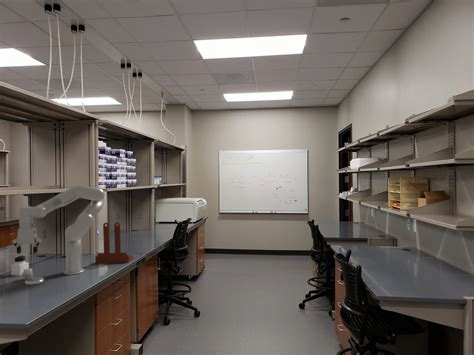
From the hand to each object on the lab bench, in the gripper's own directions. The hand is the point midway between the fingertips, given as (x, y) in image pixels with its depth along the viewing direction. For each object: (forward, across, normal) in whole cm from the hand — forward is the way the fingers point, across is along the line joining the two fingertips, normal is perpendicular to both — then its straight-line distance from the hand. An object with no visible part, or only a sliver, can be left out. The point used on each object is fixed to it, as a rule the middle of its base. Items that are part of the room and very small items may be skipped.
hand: (27, 253), depth 211 cm
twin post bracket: (+16, -44, -38) cm, 60 cm away
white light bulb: (+16, 0, 0) cm, 17 cm away
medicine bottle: (+17, +12, -14) cm, 25 cm away
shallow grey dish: (+16, -8, +8) cm, 20 cm away
